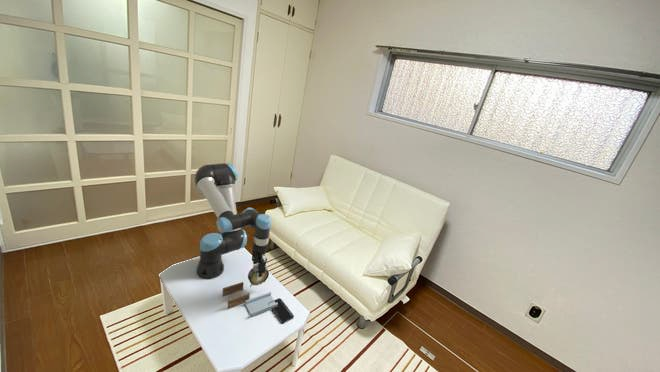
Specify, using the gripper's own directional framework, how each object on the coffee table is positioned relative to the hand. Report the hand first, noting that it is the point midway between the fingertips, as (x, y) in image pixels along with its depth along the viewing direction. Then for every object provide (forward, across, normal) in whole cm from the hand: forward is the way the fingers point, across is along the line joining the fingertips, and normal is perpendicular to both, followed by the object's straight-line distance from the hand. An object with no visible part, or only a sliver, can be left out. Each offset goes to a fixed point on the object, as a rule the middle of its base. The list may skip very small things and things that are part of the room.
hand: (256, 276), depth 148 cm
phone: (+11, +19, +7) cm, 23 cm away
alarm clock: (+5, 0, +1) cm, 5 cm away
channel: (+10, +1, -11) cm, 15 cm away
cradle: (+10, +11, -1) cm, 15 cm away
